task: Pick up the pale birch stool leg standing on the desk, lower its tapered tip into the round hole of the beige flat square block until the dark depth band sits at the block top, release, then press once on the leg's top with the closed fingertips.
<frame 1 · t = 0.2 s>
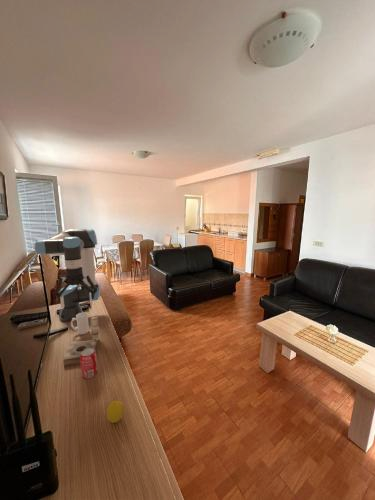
hand: (77, 306, 111), 27 cm above the tv stand, fingers open, 13 cm apart
soda can: (89, 374, 99), on the tv stand
mug: (80, 332, 135), on the tv stand
lemon: (115, 421, 77), on the tv stand
beige flat square block: (81, 354, 113), on the tv stand
leg peg: (95, 340, 127), on the tv stand
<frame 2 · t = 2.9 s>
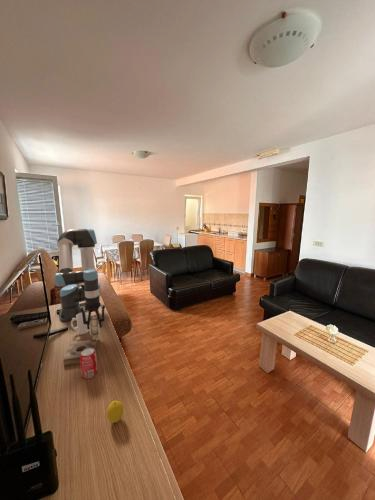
hand: (95, 333, 126), 5 cm above the tv stand, fingers closed on leg peg, 4 cm apart
leg peg: (95, 340, 127), on the tv stand, touching gripper
everything else where it was.
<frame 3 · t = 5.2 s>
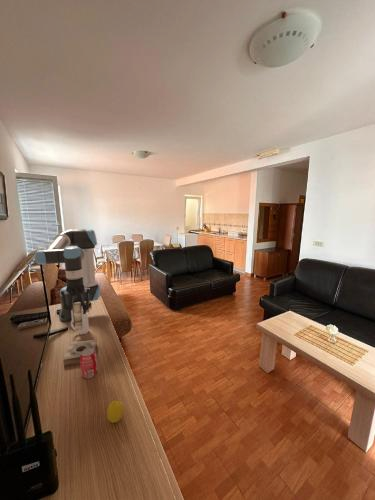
hand: (78, 320, 110), 20 cm above the tv stand, fingers closed on leg peg, 4 cm apart
leg peg: (79, 328, 111), point 15 cm above the tv stand, touching gripper
everything else where it was.
when the fingers open (5 cm above the tv stand, at t = 7.7 s): leg peg stays where it is, resting in beige flat square block.
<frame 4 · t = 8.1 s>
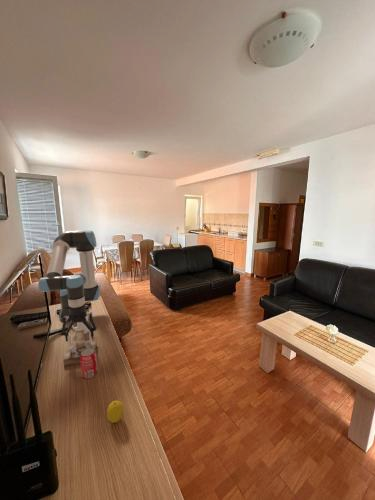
hand: (80, 344, 112), 6 cm above the tv stand, fingers open, 9 cm apart
leg peg: (81, 354, 113), resting in beige flat square block
everything else where it was.
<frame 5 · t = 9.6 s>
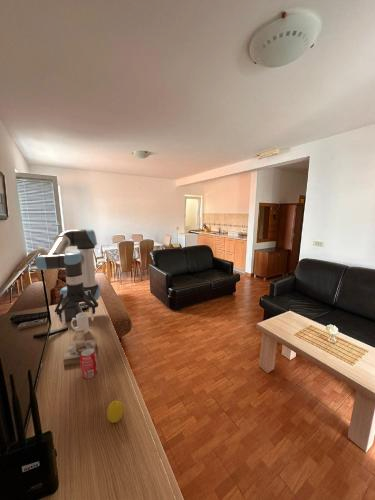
hand: (78, 321, 110), 19 cm above the tv stand, fingers open, 13 cm apart
nothing on the tv stand moved.
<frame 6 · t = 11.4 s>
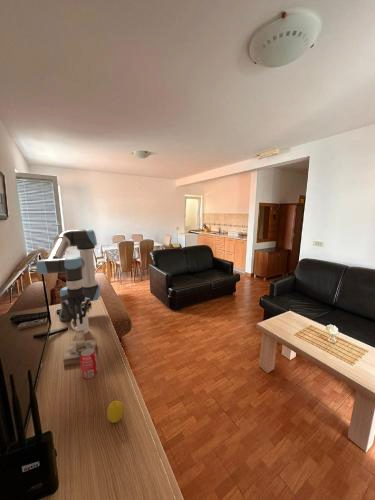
hand: (79, 329, 111), 15 cm above the tv stand, fingers closed
nothing on the tv stand moved.
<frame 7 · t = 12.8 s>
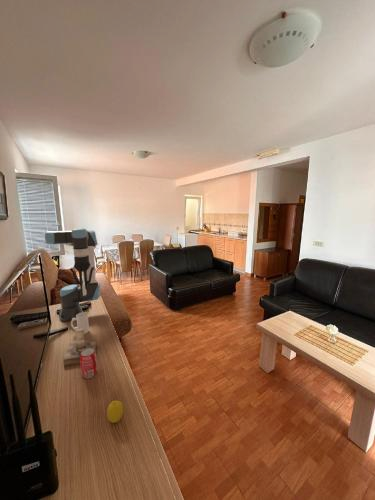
hand: (84, 294, 124), 28 cm above the tv stand, fingers closed
nothing on the tv stand moved.
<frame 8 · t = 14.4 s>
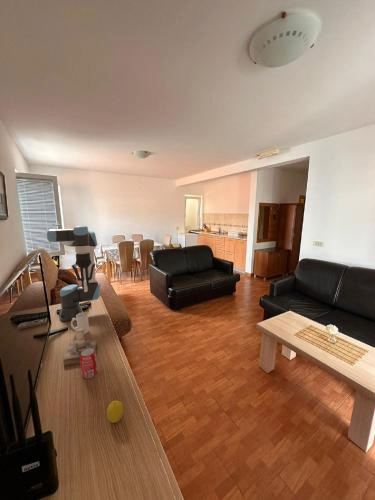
hand: (86, 291, 126), 29 cm above the tv stand, fingers closed
nothing on the tv stand moved.
at the end: leg peg 0.0 cm off-centre in the beige flat square block, point 0.0 cm above the beige flat square block's base; leg peg tilted 0°; the gripper is holding nothing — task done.
